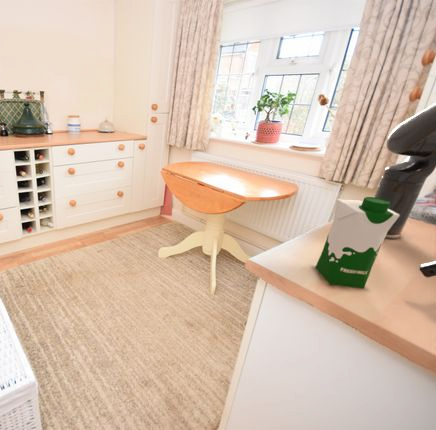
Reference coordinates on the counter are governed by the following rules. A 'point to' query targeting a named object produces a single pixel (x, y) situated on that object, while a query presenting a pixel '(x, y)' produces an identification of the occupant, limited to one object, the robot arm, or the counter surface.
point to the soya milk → (355, 240)
